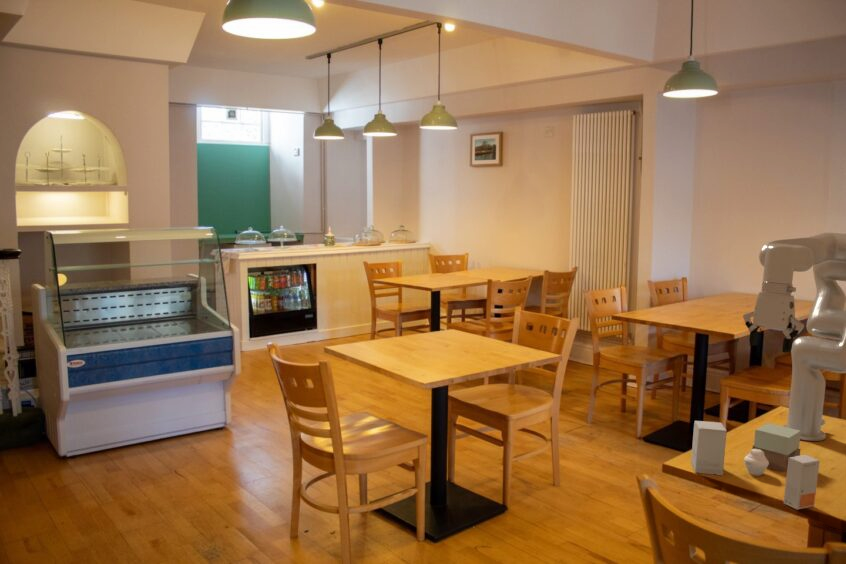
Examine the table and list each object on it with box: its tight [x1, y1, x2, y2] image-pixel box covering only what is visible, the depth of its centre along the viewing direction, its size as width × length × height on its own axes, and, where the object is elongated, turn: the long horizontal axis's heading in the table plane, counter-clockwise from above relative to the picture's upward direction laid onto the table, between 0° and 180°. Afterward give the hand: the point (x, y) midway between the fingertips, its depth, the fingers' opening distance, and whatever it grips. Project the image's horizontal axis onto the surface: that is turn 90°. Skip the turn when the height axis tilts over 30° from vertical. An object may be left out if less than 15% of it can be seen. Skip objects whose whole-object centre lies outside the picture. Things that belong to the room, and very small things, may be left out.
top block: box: [753, 422, 801, 455], centre depth 206 cm, size 9×9×5 cm
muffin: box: [743, 448, 769, 477], centre depth 199 cm, size 6×6×7 cm
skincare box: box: [783, 454, 821, 511], centre depth 179 cm, size 6×4×12 cm
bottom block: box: [752, 444, 801, 473], centre depth 207 cm, size 9×9×5 cm
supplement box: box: [690, 420, 727, 476], centre depth 200 cm, size 7×7×13 cm
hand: (769, 348), depth 207 cm, fingers open, 9 cm apart
